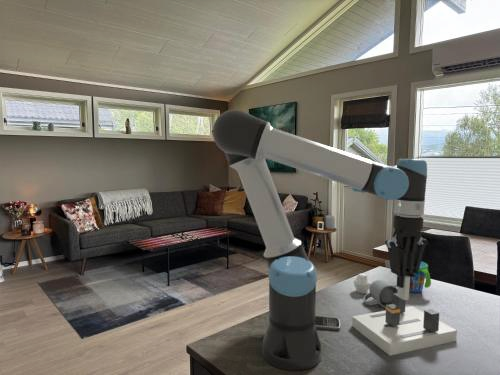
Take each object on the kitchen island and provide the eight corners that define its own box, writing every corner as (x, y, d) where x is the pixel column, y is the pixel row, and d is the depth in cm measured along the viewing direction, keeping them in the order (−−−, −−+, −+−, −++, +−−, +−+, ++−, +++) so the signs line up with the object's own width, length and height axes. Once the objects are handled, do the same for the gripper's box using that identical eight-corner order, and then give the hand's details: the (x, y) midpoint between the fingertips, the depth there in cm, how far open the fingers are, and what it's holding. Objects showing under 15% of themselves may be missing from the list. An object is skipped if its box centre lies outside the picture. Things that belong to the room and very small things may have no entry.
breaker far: (398, 313, 103) (399, 296, 102) (392, 309, 105) (392, 293, 105) (405, 311, 104) (405, 295, 103) (398, 308, 106) (399, 292, 106)
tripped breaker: (391, 326, 95) (392, 309, 94) (385, 322, 97) (385, 305, 97) (399, 325, 96) (400, 307, 95) (392, 320, 98) (393, 303, 98)
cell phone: (340, 332, 99) (340, 327, 99) (301, 328, 101) (302, 324, 101) (339, 322, 105) (339, 318, 105) (302, 319, 107) (302, 314, 107)
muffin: (365, 296, 124) (365, 277, 123) (350, 291, 128) (350, 273, 127) (373, 292, 128) (374, 273, 127) (359, 287, 132) (359, 269, 132)
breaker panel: (390, 355, 87) (390, 343, 87) (352, 326, 102) (352, 316, 102) (456, 340, 94) (456, 330, 94) (411, 315, 109) (411, 305, 109)
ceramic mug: (387, 297, 123) (387, 276, 122) (400, 307, 114) (400, 285, 114) (358, 299, 121) (359, 278, 120) (369, 310, 113) (370, 287, 112)
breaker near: (431, 332, 92) (432, 314, 91) (423, 327, 94) (424, 310, 94) (438, 331, 92) (439, 313, 92) (430, 326, 95) (431, 309, 94)
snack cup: (386, 283, 137) (387, 258, 136) (409, 281, 139) (410, 256, 138) (413, 299, 121) (414, 270, 120) (438, 296, 124) (440, 268, 123)
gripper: (399, 218, 89) (393, 306, 92) (438, 216, 94) (431, 300, 96) (379, 213, 96) (374, 295, 99) (416, 212, 101) (411, 290, 103)
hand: (402, 297), depth 97 cm, fingers closed
